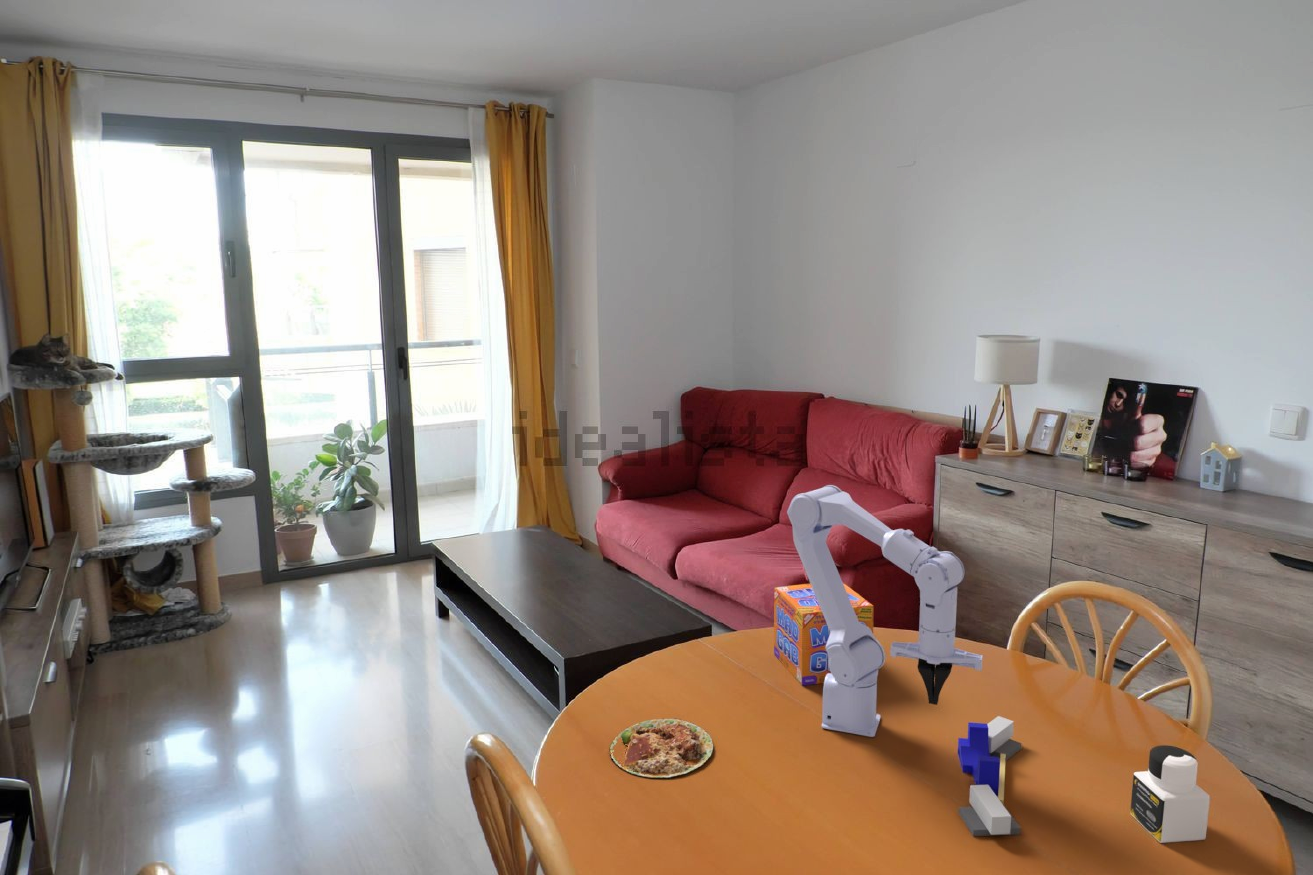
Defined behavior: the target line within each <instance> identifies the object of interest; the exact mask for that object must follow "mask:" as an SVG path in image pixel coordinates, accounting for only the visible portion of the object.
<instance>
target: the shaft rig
mask: <svg viewBox="0 0 1313 875" xmlns="http://www.w3.org/2000/svg"><path fill="white" fill-rule="evenodd" d="M986 724H987V725H988V743H989V755H990V756H993V757H999V760H1000V773H999V791H998V796H996V795H995V793H994V792H993V791H992V789H991V788H990V786H989V785H975V784H973V785H972V784H971V785H970V786H969V801H968V802H969V804H970V805H971V806H959V807H958V814H959V816H960V818H961V819H962V822H963V823H964V824H965V826H966V827H967V829H968V830H969V832H970V834H971V835H972V836H973V837H984V836H985V837H986V836H989V837H990V836H1006V835H1007V836H1009V835H1010V836H1011V835H1012V836H1013V835H1021V826H1020V825H1019V824H1018V822H1017V821H1016V820H1015V818H1014V817H1013V816H1012V814H1011V812H1010V811H1009V810H1008V809H1007V807H1006V806H1005V804H1004V799H1005V781H1006V780H1005V779H1006V778H1005V777H1006V762H1007V761H1008V760H1009V759H1011V758H1012V757H1013V756H1014V755H1015V754H1017V753H1018V752H1019V751H1020V750H1022V743H1021V742H1019V741H1016V740H1013V739H1012V738H1013V737H1014V727H1015V726H1014V724H1015V721H1014V720H1011V719H1008V718H1005V717H1002V716H1000V715H997V716H996V717H995V718H994V719H992V720H991V721H989V722H988V723H986ZM1016 752H1017V753H1016Z"/></svg>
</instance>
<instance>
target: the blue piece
mask: <svg viewBox="0 0 1313 875" xmlns="http://www.w3.org/2000/svg"><path fill="white" fill-rule="evenodd" d="M987 724H988V723H982V722H968V723H967V738H965V737H963V738H962V737H958V740H957V757H958V760H959V763H960V768H961V771H962V773H966V774H967V773H969V774H972V778H973V781H974V785H989V786H990V788H991V789H992V791H993V792H994V793H995V795H996V796H997V797H998V791H999V773H1000V759H999V757H995V756H992V755H990V754H989V743H988V725H987Z"/></svg>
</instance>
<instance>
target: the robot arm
mask: <svg viewBox="0 0 1313 875" xmlns="http://www.w3.org/2000/svg"><path fill="white" fill-rule="evenodd" d="M786 514H787V516H788V519H789V521H790V523H791V525H792V538H793V539H792V540H793V543H794V544H793V545H794V547H795V549H796V551H797V553H798V556H799V558H800V561H801V564H802V566H803V569H804V571H805V574H806V576H807V578H808V580H809V581H808V582H809V584H811V586H812V588H813V591H814V593H815V596H816V598H817V601H818V603H819V606H820V608H821V611H822V613H823V615H824V618H825V620H826V623H827V625H828V628H829V630H830V635H829V638H828V641H827V644H826V651H827V653H828V657H829V668H830V671H831V673H828V674H827V675H826V677H825V681H824V683H823V688H822V712H821V713H822V718H821V719H822V720H821V721H822V723H821V728H822V729H824V730H825V729H827V730H831V731H837V732H841V733H849V734H854V735H858V736H864V737H870V738H873V737H874V738H875V736H876V733H877V730H878V727H879V724H880V720H881V717H882V716H881V714H879V713H877V697H878V696H877V691H878V676H879V669H881V668H882V667H883V666H884V665H885V661H886V653H885V650H884V646H883V645H882V644H881V642H880V641H879V640H878V639H877V638H876V637H875V636H874V632H873V633H872V631H871V629H870V628H869V627H867V626H865V625H864V624H862V623H860V622H859V621H858V619H857V616H856V614H855V611H854V609H853V607H852V604H851V602H850V599H849V597H848V594H847V592H846V590H845V587H844V585H843V583H844V582H843V581H842V578H841V575H840V573H839V570H838V568H837V566H836V563H835V561H834V558H833V555H832V553H831V552H830V549H829V546H828V544H827V538H828V536H829V535H830V532H831V530H832V528H833V527H834V526H842V525H843V526H845V527H847V528H848V529H850V530H852V531H854V532H855V533H857V534H858V535H861V536H863V537H864V538H865V539H867V540H869V541H870V542H872V543H874V544H875V545H877V546H879V547H881V552H882V555H883V557H884V558H885V559H886V560H887V561H890V562H891V563H892V564H894V565H895V566H897V567H899V569H901V570H903V571H904V572H906V573H908V574H909V575H910V576H912V577H913V578H914V581H915V584H916V585H917V587H918V590H919V598H920V599H919V600H920V601H919V603H920V605H919V624H918V625H919V626H918V628H919V629H918V642H898V641H892V642H891V644H890V653H889V654H890V657H891V658H898V657H902V658H907V659H915V660H918V661H917V670H918V673H919V674H920V677H921V679H922V681H923V683H924V687H925V689H926V690H925V691H926V694H927V699H928V700H927V701H928V704H931V705H936V706H937V705H938V704H939V699H940V693H941V691H942V688H943V687H944V684H945V683H946V681H947V679H948V678H949V676H950V674H951V672H952V669H953V666H960V667H966V668H972V669H974V671H978V672H980V671H982V669H983V657H984V656H983V654H977V653H973V652H969V651H965V650H963V649H959V648H957V647H956V648H955V642H956V640H955V638H956V623H957V605H958V604H957V602H958V601H957V600H958V586H957V585H959V584H960V583H961V582H962V581H963V580H964V577H965V567H964V563H963V562H962V561H961V559H960V558H959V557H958V556H956V554H955V553H954V552H952V551H947V550H946V551H945V550H943V551H939V550H938V548H936V546H935V547H934V546H930V545H928V544H927V543H925V542H924V541H922V540H921V539H919V538H917V537H916V536H914V534H915V532H913V531H912V530H911V529H906V530H905V529H904V528H898V529H894V530H893V529H891V528H890V527H889V526H888V525H886V524H885V523H883V522H882V521H880V520H879V519H878V518H876V517H875V516H874V515H872V514H871V513H870V512H869V511H867V510H866V509H864V508H863V507H862V506H860V505H859V504H858V503H856V502H855V501H854V500H853V498H852V497H851V495H850V494H849V493H848V492H846V491H842V489H841V488H839V487H838V486H836V485H834V484H827V485H825V486H823V487H821V488H818V489H814V490H809V491H807V492H803V493H802V492H801V493H798V494H796V495H795V496H794V497H793V498H792V499H791V501H790V504H789V506H788V509H787V510H786ZM852 642H853V643H852Z"/></svg>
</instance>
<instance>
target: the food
mask: <svg viewBox="0 0 1313 875" xmlns="http://www.w3.org/2000/svg"><path fill="white" fill-rule="evenodd" d="M632 731H636V734H635V733H633V732H632ZM619 738H622V741H623V742H624V743H625V744H627V746H628V750H626V749H625V750H624V752H625V751H627V752H626V755H625V756H624V758H625V760H624V759H623V760H624V761H623V762H624V764H623V766H624V767H622V766H621V764H619V763H618V761H616V760H615V757H614V756H613V753H612V752H614V750H613V746H614V745H616V743H617V741H618V739H619ZM623 742H622V743H623ZM624 743H623V744H624ZM627 746H626V747H627ZM713 749H714V744H713V739H712V737H711V735H710V734H709V733H708V732H707V731H706V730H705V729H704V728H702V727H701V726H699V725H697V724H694V723H693V722H689V721H687V720H682V719H680V718H677V717H675V718H655V719H647V720H644V721H641V722H638V723H635V724H632V725H631V726H628V727H626V728H625V729H624V730H623V731H620V732H619V733H618V734H617V735H616V736H615V737H614V739H613V740H612V742H611V744H610V746H609V752H611V753H612V754H611V753H610V754H609V756H610V755H611V757H610V759H611V760H612V759H613V760H612V762H614V764H615V765H617V767H618V766H619V768H620V769H621V770H624V771H626V772H627V773H629V774H632V775H635V776H638V777H645V778H649V779H652V778H653V779H657V778H659V779H663V778H664V779H668V778H674V777H678V776H682V775H685V774H688V773H690V772H693V771H694V770H696V769H698V768H699V767H702V766H703V765H704V763H706V762H707V761H708V759H709V758H710V757H711V756H712V753H713V751H714V750H713ZM698 759H699V761H698V762H697V763H696V764H694V765H693V764H692V763H688V761H687V760H689V761H691V760H698ZM627 768H630V769H627ZM631 770H632V771H631ZM633 771H634V772H633ZM637 771H638V772H637ZM641 773H643V774H641ZM645 773H648V774H645ZM649 773H655V774H658V773H666V774H667V775H650V774H649ZM644 774H645V775H644Z"/></svg>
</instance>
